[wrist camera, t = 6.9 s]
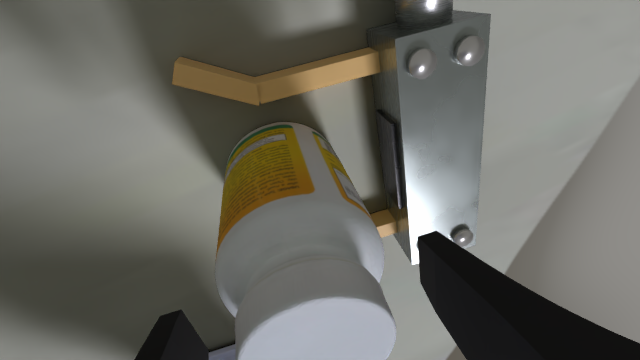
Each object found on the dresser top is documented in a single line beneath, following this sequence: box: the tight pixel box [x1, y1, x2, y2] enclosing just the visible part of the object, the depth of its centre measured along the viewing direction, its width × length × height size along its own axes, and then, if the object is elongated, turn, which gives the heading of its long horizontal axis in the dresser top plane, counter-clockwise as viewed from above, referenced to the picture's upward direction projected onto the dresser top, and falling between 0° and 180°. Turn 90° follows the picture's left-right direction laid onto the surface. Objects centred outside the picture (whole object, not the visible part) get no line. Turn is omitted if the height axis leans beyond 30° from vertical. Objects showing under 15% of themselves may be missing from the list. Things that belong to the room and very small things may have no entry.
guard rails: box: [172, 47, 397, 237], centre depth 16 cm, size 12×8×1 cm, turn 11°
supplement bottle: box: [215, 122, 396, 360], centre depth 12 cm, size 5×5×10 cm
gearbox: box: [366, 0, 491, 265], centre depth 15 cm, size 13×4×3 cm, turn 12°
